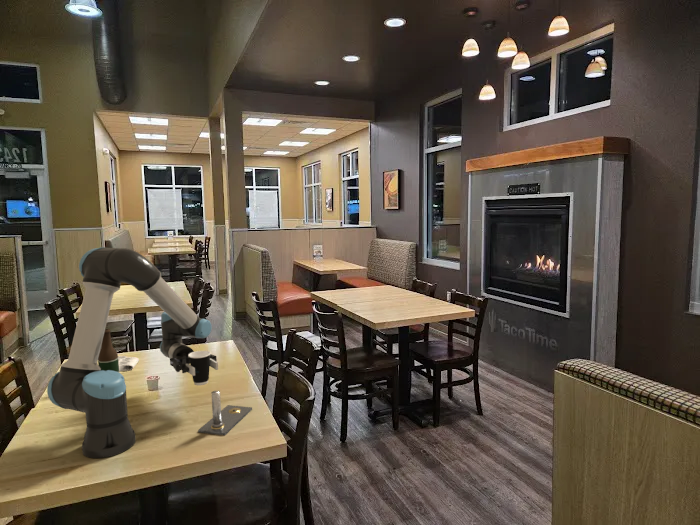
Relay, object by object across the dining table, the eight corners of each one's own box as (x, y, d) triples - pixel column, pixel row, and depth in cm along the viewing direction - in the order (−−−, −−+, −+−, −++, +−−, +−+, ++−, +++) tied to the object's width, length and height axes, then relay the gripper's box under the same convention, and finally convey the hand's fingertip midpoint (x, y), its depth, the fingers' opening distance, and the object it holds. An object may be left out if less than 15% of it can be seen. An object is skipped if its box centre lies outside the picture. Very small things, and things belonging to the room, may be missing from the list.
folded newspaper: (131, 373, 213) (97, 376, 210) (140, 360, 231) (109, 363, 228) (131, 366, 213) (96, 369, 210) (140, 354, 230) (108, 356, 227)
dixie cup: (213, 378, 173) (212, 349, 172) (211, 386, 165) (209, 356, 164) (191, 379, 172) (189, 351, 170) (188, 387, 164) (186, 358, 163)
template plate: (224, 435, 152) (224, 432, 152) (198, 432, 155) (198, 429, 155) (252, 409, 171) (252, 407, 171) (228, 407, 174) (227, 404, 174)
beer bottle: (119, 385, 198) (114, 330, 195) (98, 387, 195) (94, 332, 192) (120, 378, 205) (116, 326, 202) (101, 381, 202) (96, 328, 199)
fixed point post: (219, 428, 155) (217, 394, 154) (210, 427, 156) (208, 393, 154) (225, 423, 158) (223, 390, 157) (215, 422, 159) (213, 389, 158)
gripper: (207, 357, 188) (232, 372, 171) (155, 369, 175) (177, 386, 158) (206, 339, 188) (232, 352, 170) (154, 350, 174) (176, 365, 157)
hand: (205, 369), depth 164 cm, fingers closed on dixie cup, 8 cm apart
